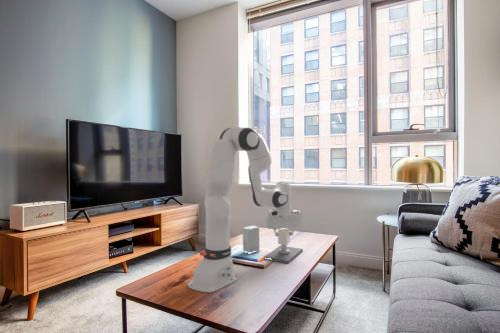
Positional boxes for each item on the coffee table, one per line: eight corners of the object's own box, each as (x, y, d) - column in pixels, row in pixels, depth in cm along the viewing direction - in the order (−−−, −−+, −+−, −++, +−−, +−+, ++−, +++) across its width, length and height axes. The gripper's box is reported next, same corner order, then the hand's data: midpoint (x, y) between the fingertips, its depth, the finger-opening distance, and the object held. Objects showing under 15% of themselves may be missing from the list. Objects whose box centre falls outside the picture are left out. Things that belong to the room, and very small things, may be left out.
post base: (288, 263, 150) (288, 245, 150) (264, 259, 157) (264, 241, 156) (302, 251, 169) (302, 235, 169) (280, 247, 176) (280, 232, 176)
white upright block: (286, 245, 159) (286, 230, 159) (278, 243, 162) (278, 229, 161) (289, 242, 164) (289, 228, 163) (281, 241, 166) (281, 227, 166)
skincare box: (253, 249, 174) (253, 224, 173) (260, 251, 169) (259, 226, 169) (242, 252, 168) (242, 227, 168) (248, 255, 164) (248, 229, 163)
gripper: (300, 209, 166) (300, 233, 167) (265, 210, 164) (265, 234, 164) (303, 211, 160) (303, 236, 160) (267, 212, 158) (267, 237, 158)
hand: (284, 235), depth 162 cm, fingers closed on white upright block, 7 cm apart
